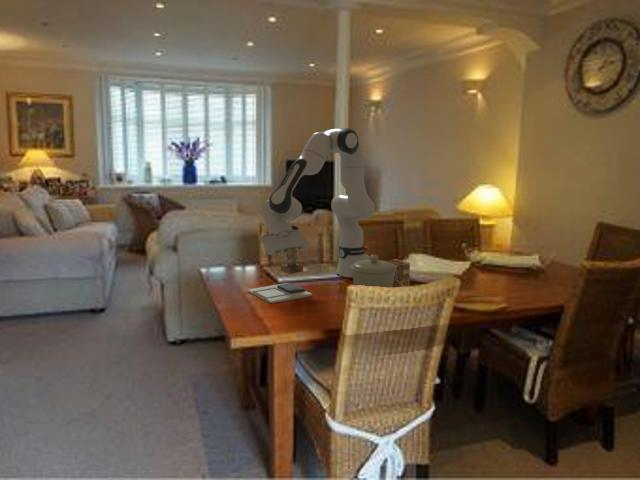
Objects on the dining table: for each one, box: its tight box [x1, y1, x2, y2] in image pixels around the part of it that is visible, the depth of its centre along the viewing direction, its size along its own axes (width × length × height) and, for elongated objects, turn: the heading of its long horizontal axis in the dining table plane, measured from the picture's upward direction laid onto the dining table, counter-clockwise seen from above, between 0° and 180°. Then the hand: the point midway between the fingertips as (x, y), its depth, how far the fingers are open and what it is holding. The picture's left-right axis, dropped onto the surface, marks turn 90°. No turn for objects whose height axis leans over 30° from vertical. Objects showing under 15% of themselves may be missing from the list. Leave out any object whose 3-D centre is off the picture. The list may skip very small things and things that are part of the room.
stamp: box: [280, 248, 304, 275], centre depth 227 cm, size 7×7×10 cm
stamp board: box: [247, 282, 313, 304], centre depth 226 cm, size 20×20×2 cm
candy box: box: [389, 258, 411, 287], centre depth 224 cm, size 9×4×15 cm, turn 33°
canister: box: [351, 254, 397, 287], centre depth 209 cm, size 18×18×21 cm
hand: (292, 258), depth 226 cm, fingers closed on stamp, 4 cm apart
